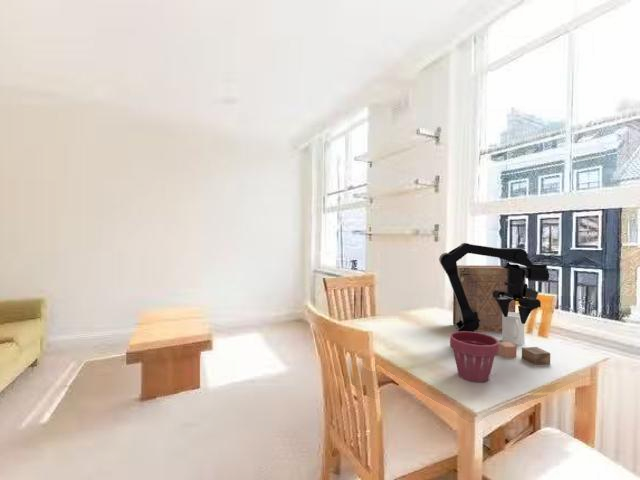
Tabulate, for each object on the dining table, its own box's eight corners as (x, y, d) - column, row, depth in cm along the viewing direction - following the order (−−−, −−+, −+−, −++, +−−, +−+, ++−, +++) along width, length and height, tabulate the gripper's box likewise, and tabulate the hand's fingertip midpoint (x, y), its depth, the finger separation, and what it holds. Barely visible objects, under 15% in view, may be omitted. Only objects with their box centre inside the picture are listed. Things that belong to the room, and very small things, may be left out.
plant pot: (506, 378, 103) (507, 339, 102) (484, 391, 95) (484, 348, 94) (464, 363, 115) (464, 328, 114) (441, 374, 106) (441, 336, 106)
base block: (534, 365, 111) (534, 354, 111) (521, 358, 117) (521, 347, 117) (550, 364, 112) (550, 353, 112) (536, 357, 118) (536, 346, 118)
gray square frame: (533, 368, 110) (533, 366, 110) (517, 358, 118) (517, 357, 118) (555, 366, 111) (555, 365, 111) (537, 357, 119) (537, 356, 119)
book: (459, 330, 152) (459, 267, 151) (452, 324, 161) (453, 265, 160) (515, 331, 149) (516, 267, 148) (505, 325, 158) (506, 265, 157)
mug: (528, 349, 127) (529, 319, 127) (504, 346, 130) (504, 317, 130) (522, 340, 138) (522, 312, 138) (500, 337, 141) (500, 310, 141)
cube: (505, 358, 118) (505, 346, 118) (497, 354, 123) (497, 342, 123) (516, 358, 119) (516, 346, 119) (508, 353, 123) (508, 342, 123)
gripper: (554, 284, 116) (553, 326, 117) (516, 276, 134) (515, 313, 135) (527, 284, 114) (525, 327, 115) (492, 276, 133) (491, 313, 133)
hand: (514, 320), depth 125 cm, fingers open, 9 cm apart
